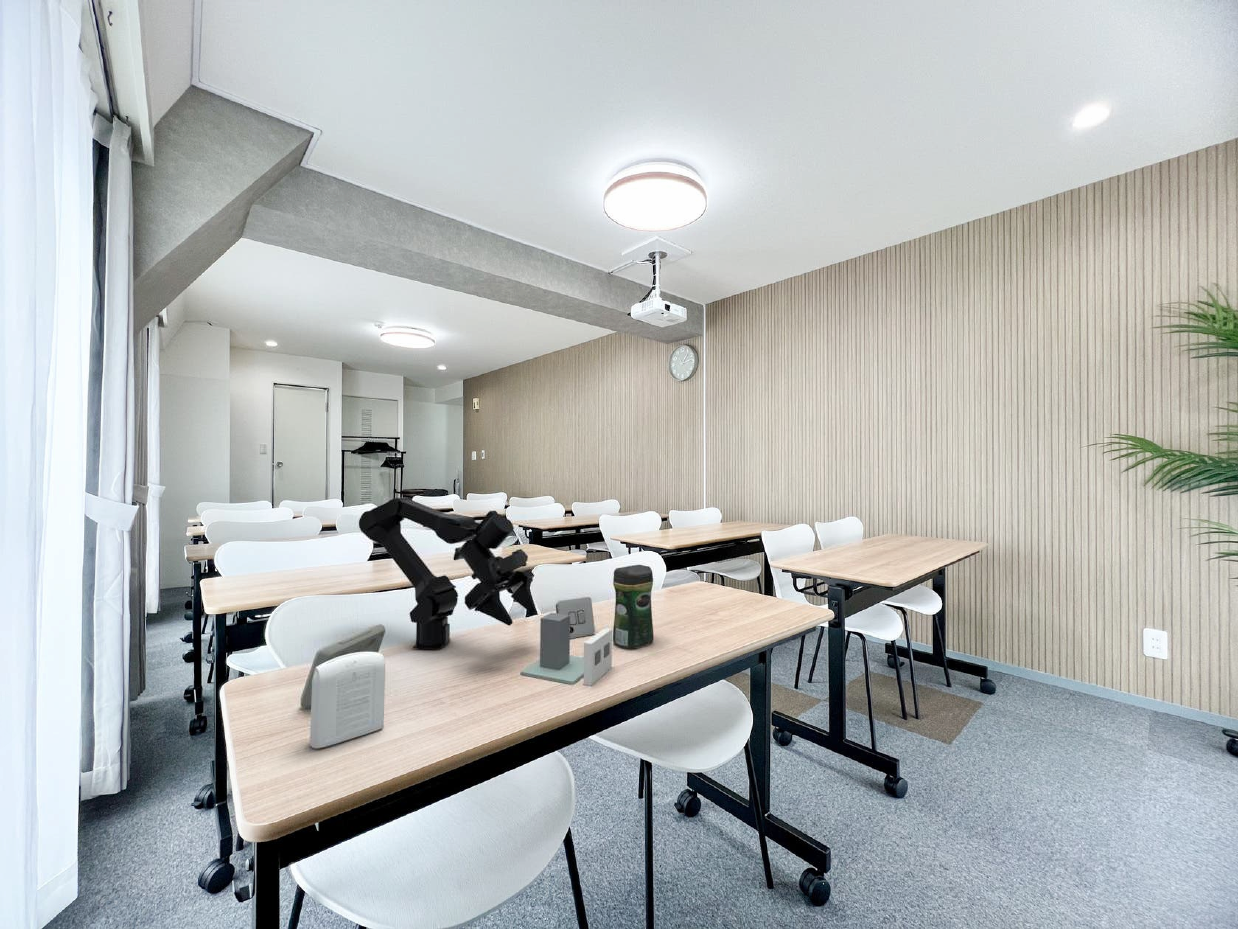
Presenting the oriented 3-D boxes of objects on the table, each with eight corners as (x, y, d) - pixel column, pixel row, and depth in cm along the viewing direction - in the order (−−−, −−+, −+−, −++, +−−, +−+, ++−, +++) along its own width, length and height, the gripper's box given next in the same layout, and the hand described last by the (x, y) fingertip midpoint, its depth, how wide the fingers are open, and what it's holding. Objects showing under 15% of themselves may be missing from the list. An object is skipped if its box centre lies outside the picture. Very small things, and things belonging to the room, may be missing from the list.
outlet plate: (582, 684, 96) (583, 642, 97) (604, 666, 106) (604, 628, 106) (591, 686, 96) (592, 644, 96) (612, 667, 105) (612, 629, 105)
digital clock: (367, 672, 101) (368, 620, 101) (400, 680, 97) (401, 625, 98) (286, 706, 86) (287, 644, 86) (321, 717, 83) (322, 652, 83)
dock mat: (520, 674, 101) (520, 671, 101) (550, 655, 112) (550, 652, 112) (573, 685, 96) (573, 681, 96) (599, 663, 107) (599, 660, 107)
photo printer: (378, 719, 82) (380, 643, 82) (388, 729, 79) (389, 650, 79) (306, 742, 75) (308, 659, 75) (313, 754, 72) (315, 667, 72)
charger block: (539, 666, 103) (540, 618, 103) (550, 659, 107) (551, 612, 108) (559, 670, 102) (559, 621, 102) (569, 662, 106) (570, 615, 106)
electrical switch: (561, 641, 121) (560, 602, 122) (553, 637, 125) (552, 599, 126) (595, 635, 126) (594, 597, 127) (586, 631, 130) (585, 595, 131)
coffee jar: (636, 635, 126) (637, 561, 126) (658, 643, 120) (659, 566, 120) (606, 643, 120) (607, 565, 120) (628, 652, 114) (629, 570, 114)
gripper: (477, 544, 101) (522, 605, 97) (528, 534, 119) (568, 586, 114) (445, 579, 104) (488, 640, 100) (499, 564, 121) (537, 616, 117)
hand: (523, 618), depth 108 cm, fingers open, 9 cm apart
